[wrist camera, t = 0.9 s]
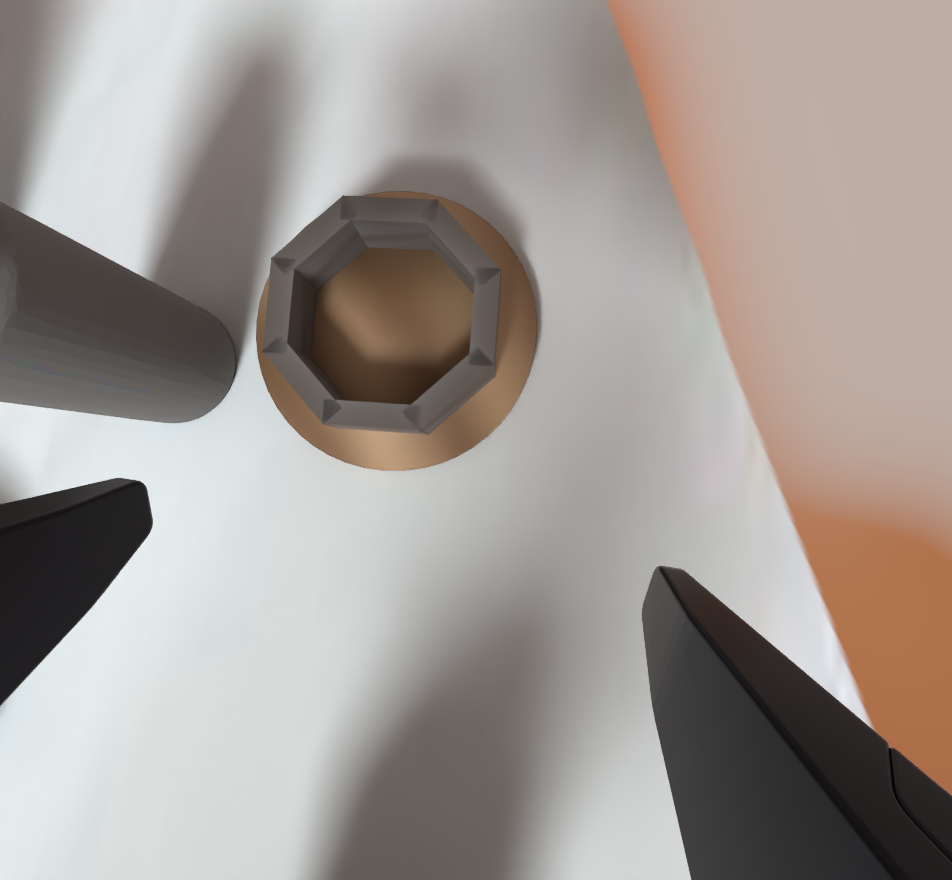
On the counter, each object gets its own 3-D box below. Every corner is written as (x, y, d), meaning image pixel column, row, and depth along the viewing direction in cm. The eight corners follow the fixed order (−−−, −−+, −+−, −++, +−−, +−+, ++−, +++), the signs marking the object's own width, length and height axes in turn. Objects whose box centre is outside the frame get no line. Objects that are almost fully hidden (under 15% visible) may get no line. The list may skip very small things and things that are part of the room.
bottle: (255, 393, 23) (-202, 257, 8) (146, 443, 23) (-501, 399, 8) (211, 285, 23) (-300, -34, 9) (104, 335, 24) (-583, 106, 9)
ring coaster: (381, 528, 22) (361, 538, 19) (211, 322, 23) (163, 298, 20) (593, 344, 22) (609, 323, 19) (413, 147, 23) (398, 94, 20)
